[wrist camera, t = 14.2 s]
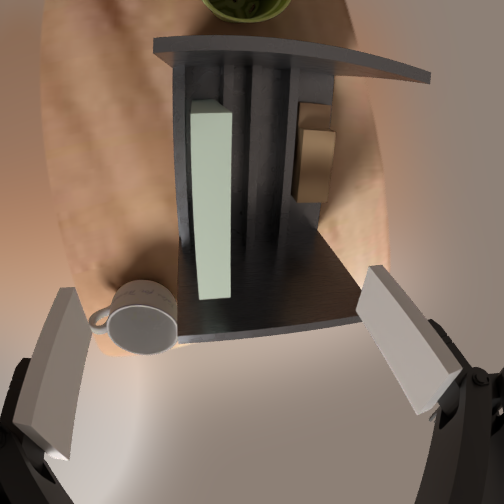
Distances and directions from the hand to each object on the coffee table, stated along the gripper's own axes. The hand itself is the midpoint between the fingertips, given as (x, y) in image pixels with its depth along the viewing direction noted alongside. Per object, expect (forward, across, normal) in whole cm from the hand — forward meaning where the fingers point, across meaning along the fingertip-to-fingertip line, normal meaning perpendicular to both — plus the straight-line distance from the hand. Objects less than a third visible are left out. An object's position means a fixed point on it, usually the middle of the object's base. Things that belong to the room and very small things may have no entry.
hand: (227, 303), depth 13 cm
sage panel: (+27, 0, 0) cm, 27 cm away
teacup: (+29, -12, -22) cm, 38 cm away
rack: (+28, +6, 0) cm, 29 cm away
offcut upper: (+25, +13, -1) cm, 28 cm away
